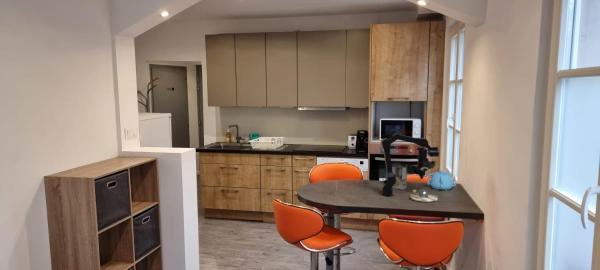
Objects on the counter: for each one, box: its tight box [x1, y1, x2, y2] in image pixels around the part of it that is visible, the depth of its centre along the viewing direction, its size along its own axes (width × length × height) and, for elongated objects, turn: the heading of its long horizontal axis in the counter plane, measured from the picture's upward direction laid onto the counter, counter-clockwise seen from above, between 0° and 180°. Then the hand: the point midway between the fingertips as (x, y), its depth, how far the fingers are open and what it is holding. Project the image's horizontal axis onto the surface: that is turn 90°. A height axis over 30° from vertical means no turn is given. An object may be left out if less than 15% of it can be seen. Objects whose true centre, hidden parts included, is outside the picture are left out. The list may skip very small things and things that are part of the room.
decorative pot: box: [427, 170, 457, 191], centre depth 295 cm, size 16×16×14 cm
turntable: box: [409, 189, 439, 203], centre depth 266 cm, size 18×18×4 cm
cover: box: [418, 189, 429, 198], centre depth 265 cm, size 6×6×4 cm
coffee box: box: [392, 165, 408, 190], centre depth 297 cm, size 9×6×16 cm
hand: (421, 179), depth 274 cm, fingers closed
